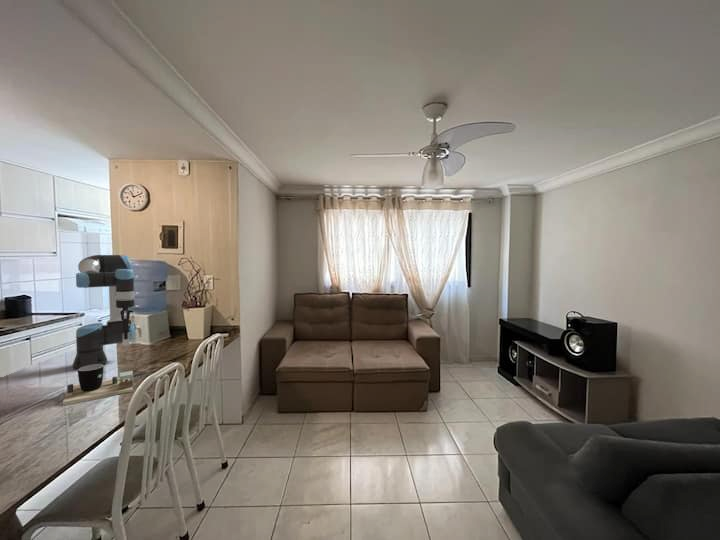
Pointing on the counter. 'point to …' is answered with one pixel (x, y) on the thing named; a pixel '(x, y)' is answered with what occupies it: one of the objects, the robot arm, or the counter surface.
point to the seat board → (98, 390)
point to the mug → (90, 377)
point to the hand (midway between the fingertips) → (126, 344)
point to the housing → (126, 375)
